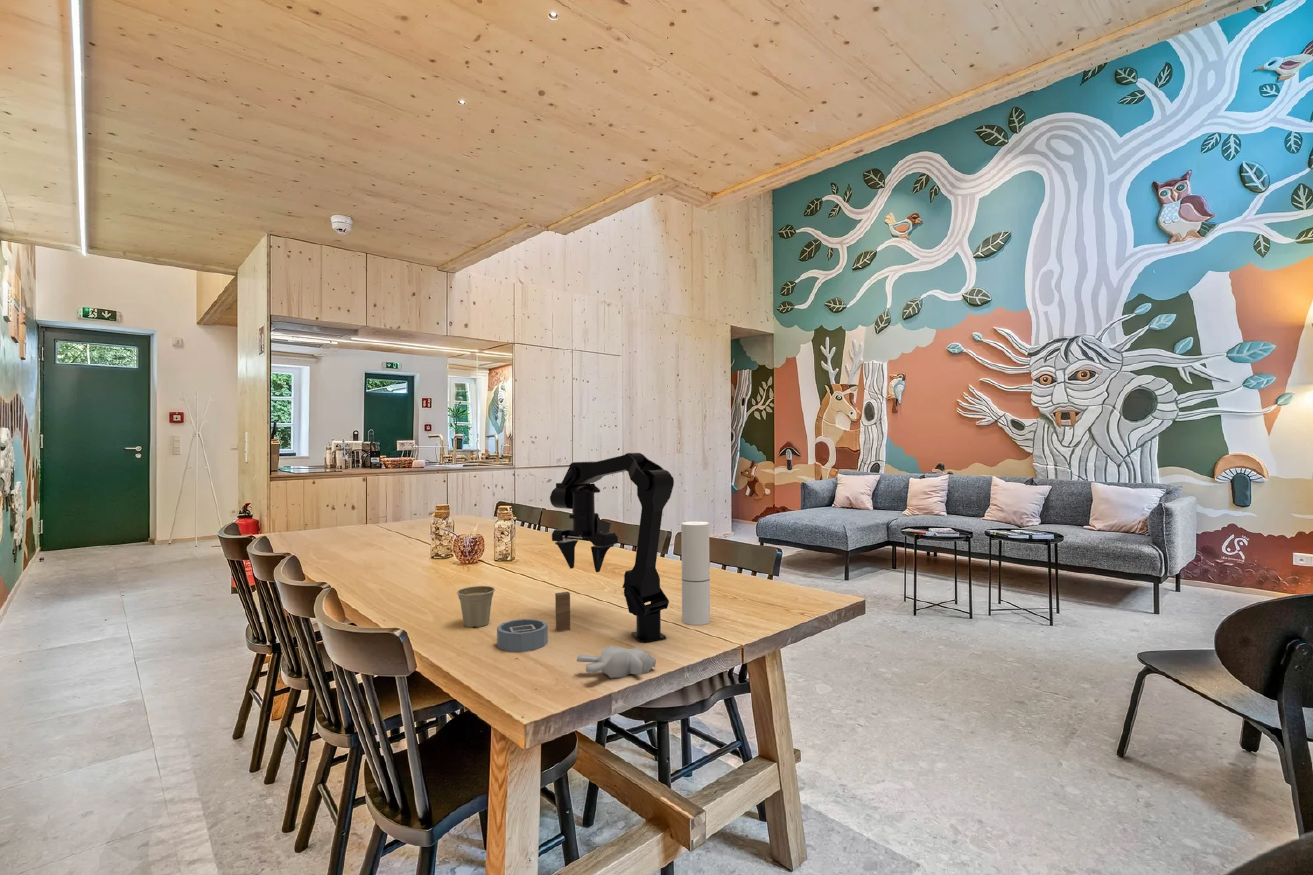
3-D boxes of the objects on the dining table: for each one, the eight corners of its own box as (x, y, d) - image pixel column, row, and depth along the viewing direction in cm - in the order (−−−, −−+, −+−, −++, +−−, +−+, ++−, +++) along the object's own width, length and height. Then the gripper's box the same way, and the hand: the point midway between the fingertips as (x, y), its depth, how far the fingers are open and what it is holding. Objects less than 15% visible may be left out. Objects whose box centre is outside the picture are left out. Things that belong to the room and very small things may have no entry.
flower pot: (449, 628, 151) (448, 593, 151) (469, 617, 160) (469, 584, 161) (483, 630, 149) (483, 595, 149) (501, 619, 158) (501, 586, 158)
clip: (535, 639, 139) (535, 628, 139) (512, 643, 137) (511, 631, 137) (532, 635, 142) (532, 624, 142) (509, 638, 140) (509, 627, 140)
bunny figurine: (662, 655, 120) (591, 658, 114) (660, 681, 120) (588, 686, 113) (643, 641, 129) (575, 643, 122) (640, 665, 128) (572, 669, 122)
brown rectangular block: (570, 629, 149) (570, 593, 149) (557, 631, 148) (557, 594, 148) (568, 627, 151) (568, 591, 151) (555, 629, 150) (555, 592, 150)
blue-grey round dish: (551, 647, 137) (551, 629, 137) (501, 654, 132) (501, 636, 132) (541, 633, 147) (541, 616, 147) (494, 639, 142) (494, 622, 142)
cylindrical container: (710, 617, 159) (709, 521, 159) (709, 625, 152) (709, 525, 152) (682, 616, 160) (682, 521, 160) (681, 624, 153) (680, 525, 153)
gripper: (631, 508, 159) (632, 568, 159) (579, 505, 170) (580, 561, 170) (602, 512, 150) (603, 576, 150) (549, 509, 161) (550, 568, 161)
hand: (584, 570), depth 158 cm, fingers open, 9 cm apart
